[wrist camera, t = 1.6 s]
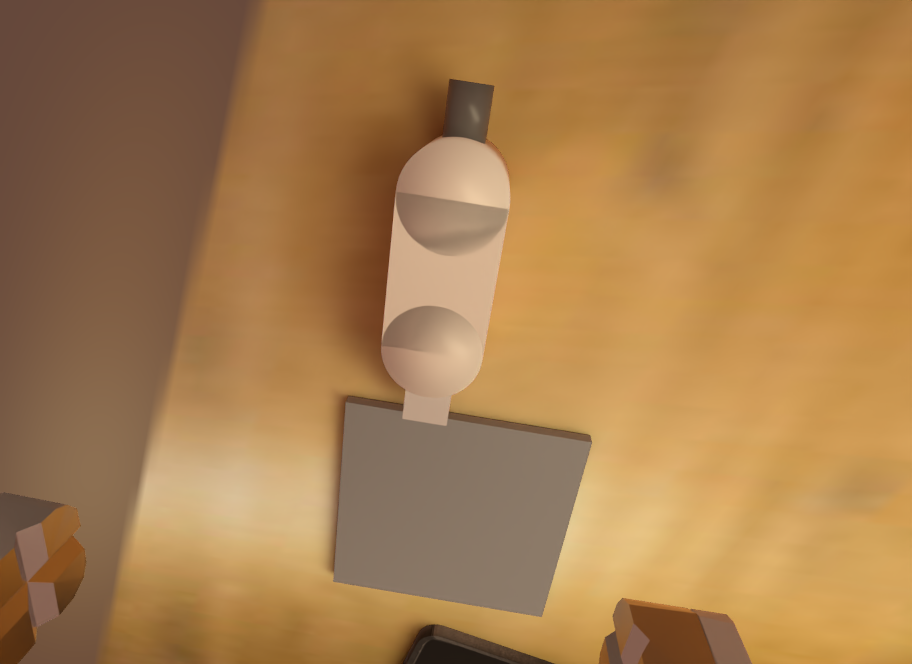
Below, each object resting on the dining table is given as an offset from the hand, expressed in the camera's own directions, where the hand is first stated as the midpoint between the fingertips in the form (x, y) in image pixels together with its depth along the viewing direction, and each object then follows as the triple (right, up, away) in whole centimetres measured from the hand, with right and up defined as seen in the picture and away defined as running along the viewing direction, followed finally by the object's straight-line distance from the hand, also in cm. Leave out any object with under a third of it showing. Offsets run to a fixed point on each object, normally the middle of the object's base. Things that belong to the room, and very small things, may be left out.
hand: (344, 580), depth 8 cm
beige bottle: (+1, +7, +16) cm, 18 cm away
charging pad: (+2, -6, +22) cm, 22 cm away
